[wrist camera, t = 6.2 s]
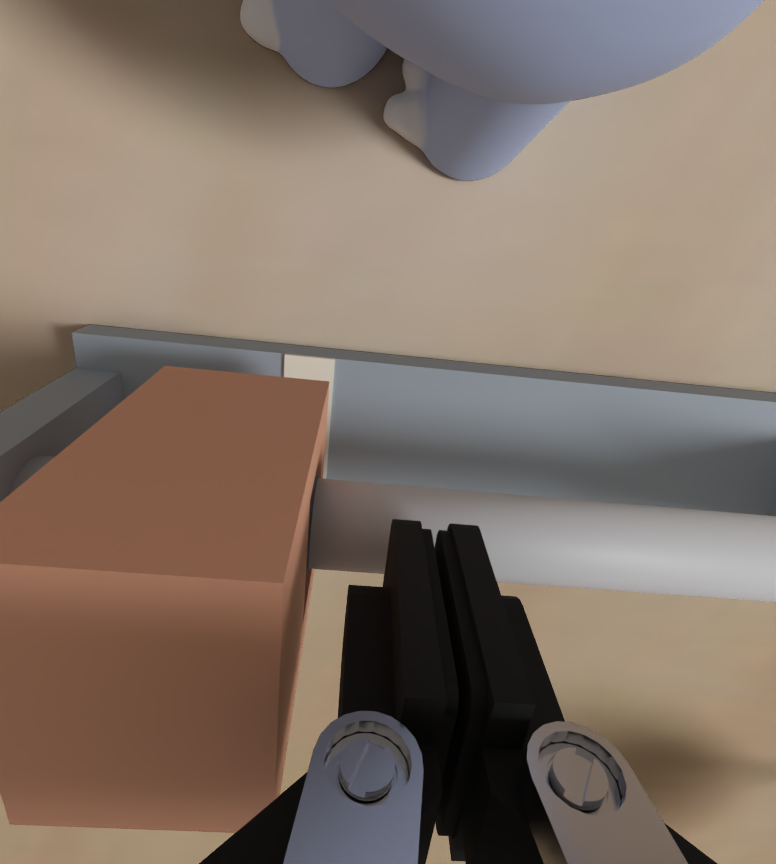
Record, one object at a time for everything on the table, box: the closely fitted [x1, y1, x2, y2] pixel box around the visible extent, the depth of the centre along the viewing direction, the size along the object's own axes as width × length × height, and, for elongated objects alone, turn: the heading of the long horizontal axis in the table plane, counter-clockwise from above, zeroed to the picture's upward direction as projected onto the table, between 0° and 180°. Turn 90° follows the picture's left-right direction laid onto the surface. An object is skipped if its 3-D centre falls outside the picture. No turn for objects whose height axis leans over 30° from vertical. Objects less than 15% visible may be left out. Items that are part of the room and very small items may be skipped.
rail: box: [0, 324, 776, 602], centre depth 14 cm, size 5×23×7 cm, turn 84°
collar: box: [0, 366, 330, 833], centre depth 11 cm, size 5×4×8 cm
